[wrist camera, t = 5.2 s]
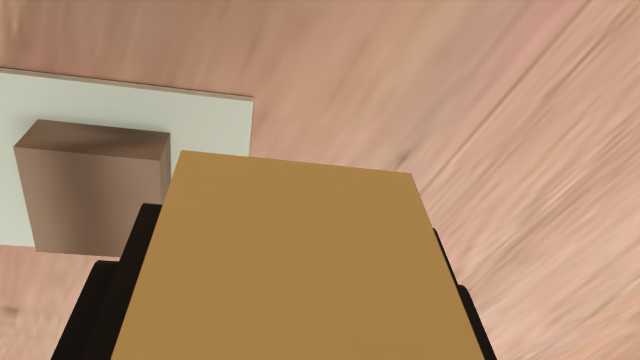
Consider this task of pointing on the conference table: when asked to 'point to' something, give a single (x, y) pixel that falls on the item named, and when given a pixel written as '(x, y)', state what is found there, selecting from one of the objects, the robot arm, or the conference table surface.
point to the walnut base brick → (89, 183)
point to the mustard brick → (293, 268)
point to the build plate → (109, 124)
